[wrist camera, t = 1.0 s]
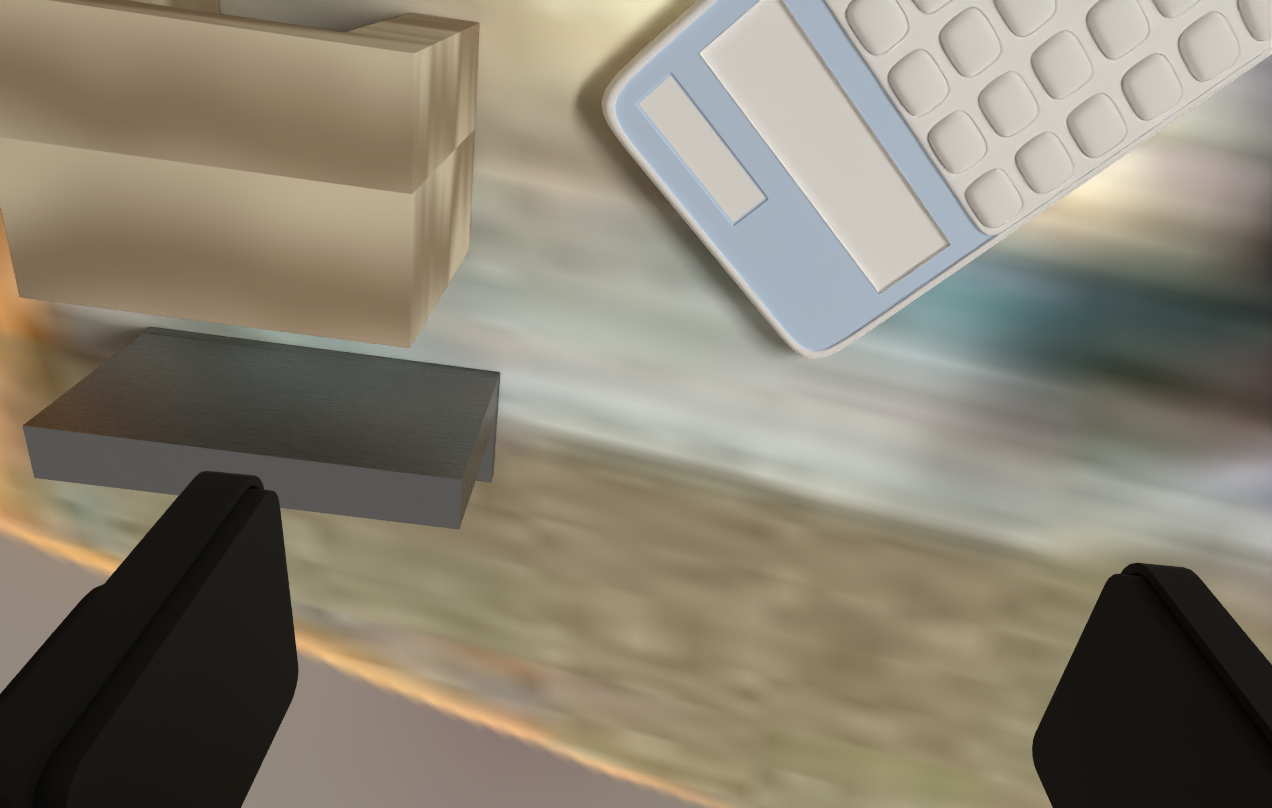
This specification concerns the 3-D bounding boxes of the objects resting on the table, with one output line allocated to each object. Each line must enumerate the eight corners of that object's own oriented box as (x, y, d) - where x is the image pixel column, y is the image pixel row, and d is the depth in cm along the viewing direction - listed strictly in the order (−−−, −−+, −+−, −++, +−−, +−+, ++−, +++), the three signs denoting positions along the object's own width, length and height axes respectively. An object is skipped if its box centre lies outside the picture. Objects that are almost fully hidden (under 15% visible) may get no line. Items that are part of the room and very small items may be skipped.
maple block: (147, -27, 29) (-46, -14, 21) (479, 22, 29) (413, 53, 21) (174, 210, 33) (19, 297, 25) (468, 250, 33) (409, 347, 25)
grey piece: (151, 326, 35) (22, 425, 28) (500, 372, 35) (461, 480, 28) (165, 434, 37) (51, 550, 30) (493, 475, 38) (456, 598, 31)
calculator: (1297, 15, 29) (1336, 20, 28) (803, 358, 36) (811, 379, 34) (1119, -381, 25) (1152, -405, 23) (588, 95, 31) (583, 104, 29)
